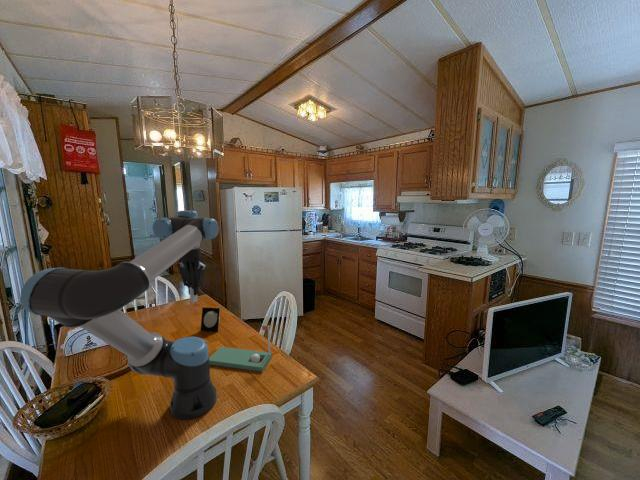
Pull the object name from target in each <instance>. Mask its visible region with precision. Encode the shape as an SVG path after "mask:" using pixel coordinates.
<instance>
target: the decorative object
mask: <svg viewBox="0 0 640 480" xmlns="http://www.w3.org/2000/svg"><path fill="white" fill-rule="evenodd" d="M201 309H202V310H201V311H202V312H201V320H200V332H212V333H218V332H219V324H220V321H221V320H220V319H221V317H220V315H221V314H220V307H202V308H201Z"/></svg>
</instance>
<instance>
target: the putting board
mask: <svg viewBox="0 0 640 480" xmlns="http://www.w3.org/2000/svg"><path fill="white" fill-rule="evenodd" d="M261 329H262V331H267V341H268V342H267V344H268V345H267V346H268V347H267V348H268V352H267V351H258V350H251V349H243V348H242V349H241V348H235V347H226V346H220V347H219V348H217V350H216V351H215V352H214V353H213V354H212V355H211V356H209V366H218V367H226V368H232V369H241V370H246V371H247V370H249V371H253V372H261V373H263V372H264V370H265V369H266V367H267V366H268V364H269V363H270V361H271V359H272V358H271V357H273V352H271V338H270V337H271V336H270V335H271V333H270V332H271V331H270V325H262V328H261ZM253 354H258V355H259V356H260V360H261V362H260V363H259V362H258V363H254V362H252V361H251V357H252V355H253Z"/></svg>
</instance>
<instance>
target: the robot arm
mask: <svg viewBox="0 0 640 480" xmlns="http://www.w3.org/2000/svg"><path fill="white" fill-rule="evenodd" d="M176 214H177V216H172V217H171V216H170V217H161V218H157V219H156V220H154V222H153V223H152V232H153V234H154V235H155V237H157V238H158V239H160V240H161V241H160V242H159V243H156V244H155V245H154V246H152V247H150V248H148V249H147V250H146V251H145V252H144V251H143V253H141V254H139V255H138V256H137V257H135V258H134V259H132V260H130V261H122V262H120V263H118V264H117V265H115V266H113V267H109V268H105V269H101V270H90V269H75V268H66V267H53V268H51V267H50V268H45V269H43V270H39V271H37V272H36V273H34V274H33V275H31V276H30V277H29V278H28V279H27V280H26V281H25V283H24V284H23V286H22V288H21V290H20V297H19V300H20V304H21V306H22V307H23V309H24V310H26V311H27V312H28V313H31V314H33V315H36V316H45V317H49V318H51V319H52V320H53V321H56V323H59V324H60V325H63V326H65V328H69V329H75V328H76V329H77V328H81V329H83V330H84V331H86V332H88V333H89V334H91V335H93V336H95V337H96V338H98V339H99V340H101V341H103V342H104V343H106V344H107V345H109V346H110V347H112V348H114V349H116V350H117V351H119V352H120V353H123V354H124V355H125V356H126V358H127V364H128V367H129V368H130V369H131V371H133V372H135V373H137V374H140V375H147V376H148V375H149V376H156V377H163V378H170V379H173V387H174V388H173V393H172V395H171V400H170V403H169V404H170V405H169V407H170V414H171V416H172V417H173V418H175V419H177V420H181V421H185V420H188V421H189V420H193V419H195V418H198V417H200V416H203V415H205V414H206V413H208V412H209V411H210V410H211V409H212V408H213V407H214V406H215V404H216V402H217V400H218V399H217V397H218V396H217V389H216V387H215V386H214V384H213V382H212V380H211V371H210V365H209V358H210V351H209V347H208V346H209V345H208V344H207V341H206V340H205V339H203V338H202V337H198V336H188V337H181V338H178V339H177V340H174V341H173V340H169V339H167V338H165V337H163V336H162V335H161V334H160V333H158V332H155V331H150V332H149V331H147V330H146V329H145V328H144V327H142V325H140V324H139V323H137V322H136V321H135V320H133V319H132V318H131V317H130V316H129V315H127V314H126V313H125V312H123V311H122V310H121V309H122V308H124V307H125V306H127V305H129V304H131V303H132V302H133V301H135V300H136V299H138V298H139V297H141V296H142V295H143V294H144V293H145V292H146V291H148V290H149V288H150V286H151V283H152V281H154V280H155V279H156V278H158V277H159V276H160V275H161V274H163V273H164V272H165V271H166V270H167V269H169V268H170V267H172V266H173V265H174V264H175V263H176V262H178V261H179V260H180V259H181V262H179V263H177V264H176V266H177V268H178V270H179V273H180V278H181V280H182V283H183V286H184V287H187V289H188V290H187V291H188V295H189V298H190V303H191V304H194V303H196V302H198V301H199V299H198V298H199V297H198V295H199V287H201V286H203V281H204V277H205V271H206V268H207V264H204V263H203V262H202V260H201V256H202V254H201V242H203V241H204V240H213V239H215V238H217V237H218V234H219V232H220V231H219V230H220V227H219V224H218V221H217V220H216V219H214V218H209V217H199V215H198V212H197V211H196V210H178V211H177V213H176Z"/></svg>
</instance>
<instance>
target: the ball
mask: <svg viewBox="0 0 640 480" xmlns="http://www.w3.org/2000/svg"><path fill="white" fill-rule="evenodd" d="M260 360H261V359H260V356H259V355H258V354H253V355H252V357H251V362H254V363H259V362H260Z"/></svg>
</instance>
